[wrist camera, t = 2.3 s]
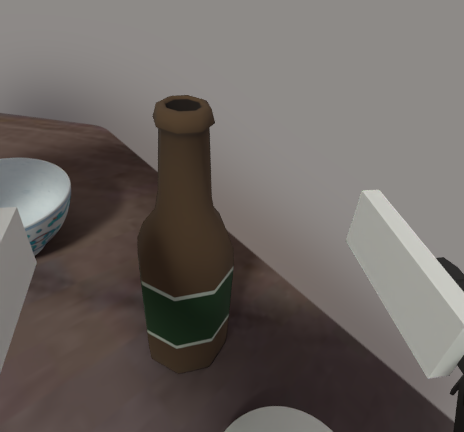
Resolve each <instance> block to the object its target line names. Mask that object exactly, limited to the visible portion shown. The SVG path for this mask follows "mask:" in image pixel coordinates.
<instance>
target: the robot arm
mask: <svg viewBox="0 0 464 432" xmlns="http://www.w3.org/2000/svg"><path fill="white" fill-rule="evenodd" d="M346 242H347V244H348V246H349V247H350V249H351V251H352V252H353V254H354V256H355V257H356V259H357V261H358V262H359V264H360V266H361V267H362V269H363V271H364V272H365V274H366V276H367V277H368V279H369V281H370V283H371V284H372V286H373V288H374V289H375V291H376V293H377V294H378V296H379V298H380V299H381V301H382V303H383V304H384V306H385V308H386V309H387V311H388V313H389V315H390V316H391V318H392V320H393V321H394V323H395V325H396V326H397V328H398V330H399V331H400V333H401V335H402V336H403V338H404V340H405V341H406V343H407V345H408V347H409V348H410V350H411V351H412V353H413V355H414V357H415V358H416V360H417V362H418V363H419V365H420V367H421V368H422V370H423V372H424V373H425V375H426V377H427V378H428V379H430V378H437V377H443V376H449V375H450V374H451V373H452V371H453V370H454V368H455V367H456V366H457V365H458V367H459V368H460V370H461V371H462V373H463V376H462V377H461V378H460V379H459V381H458V382H457V383H456V384H455V386H454V387H453V388H452V390H451V392H450V394H451V395H454V394H455V393H456V391H457V390H459V391H458V400H457V407H456V416H455V424H454V432H464V274H463V273H462V272H461V271H460V269H459V268H458V267H456V266H455V265H453V264H452V263H451V262H449V261H448V260H446V259H445V258H444V257H442V258H435V257H434V256H433V254H431V252H430V251H429V250H428V248H427V247H426V246H425V245H424V243H423V242H422V241H421V240H420V239H419V237H417V235H416V234H415V233H414V231H413V230H412V229H411V228H410V226H409V225H408V224H407V223H406V222H405V220H404V219H403V218H402V217H401V216H400V215H399V213H398V212H397V211H396V210H395V208H394V207H393V206H392V205H391V203H389V201H388V200H387V199H386V197H385V196H384V195H383V194H382V193H381V191H380V190H364V191H362V192H361V195H360V198H359V201H358V204H357V208H356V211H355V214H354V217H353V220H352V223H351V226H350V230H349V233H348V236H347V239H346ZM36 264H37V262H36V259H35V256H34V254H33V251H32V248H31V245H30V242H29V240H28V237H27V234H26V231H25V228H24V226H23V223H22V220H21V217H20V215H19V212H18V209H17V207H6V208H0V373H1V369H2V366H3V363H4V360H5V357H6V354H7V351H8V348H9V345H10V342H11V339H12V336H13V333H14V330H15V327H16V324H17V321H18V318H19V315H20V312H21V309H22V306H23V303H24V300H25V297H26V294H27V291H28V288H29V285H30V282H31V279H32V276H33V273H34V270H35V267H36Z"/></svg>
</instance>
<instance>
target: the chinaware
mask: <svg viewBox="0 0 464 432" xmlns="http://www.w3.org/2000/svg"><path fill="white" fill-rule="evenodd" d="M70 198H71V183H70V179H69V177H68V175H67V173H66V172H65V171H64V170H63V169H61V168H60V167H58V166H57V165H55V164H52V163H50V162H47V161H43V160H38V159H31V158H4V159H0V208H6V207H17V209H18V212H19V215H20V217H21V220H22V223H23V226H24V228H25V231H26V234H27V237H28V240H29V242H30V245H31V248H32V251H33V254H34V256H35V255H37V254H38V253H39V252H40V251H41V250H42V249H43V248H44V246H45V244H47V243H48V242H49V241H50V240H51V239H52V238H53V237H54V236H55V235H56V233H57V232H58V231H59V229H60V228H61V226H62V225H63V223H64V221H65V218H66V216H67V213H68V210H69V205H70Z"/></svg>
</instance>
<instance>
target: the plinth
mask: <svg viewBox="0 0 464 432" xmlns="http://www.w3.org/2000/svg"><path fill="white" fill-rule="evenodd" d="M224 432H333V431H332V430H331V429H330V428H329V427H327V426H326V425H325V424H323V423H322V422H321V421H320V420H318V419H316V418H315V417H313V416H311V415H309V414H307V413H305V412H303V411H300V410H297V409H294V408H289V407H283V406H269V407H263V408H258V409H255V410H252V411H250V412H248V413H246V414H244V415H242V416H241V417H239V418H238V419H236V420H235V421H234V422H233V423H232V424H231V425H230V426H229V427H228V428H227V429H226V430H225V431H224Z"/></svg>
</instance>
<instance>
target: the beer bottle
mask: <svg viewBox="0 0 464 432" xmlns="http://www.w3.org/2000/svg"><path fill="white" fill-rule="evenodd" d="M153 119H154V122H155V125H156V127H157V128H158V192H157V199H156V206H155V209H154V210H153V211H152V212H151V213H150V215H149V216H148V217H147V218H146V219H145V221H144V222H143V224H142V226H141V229H140V232H139V235H138V260H139V269H140V277H141V285H142V294H143V302H144V310H145V319H146V326H147V333H148V341H149V348H150V352H151V357H152V359H154V360H155V361H157V362H159V363H161V364H162V365H164V366H166V367H167V368H169V369H171V370H173V371H174V372H176V373H178V374H180V373H185V372H189V371H193V370H197V369H202V368H206V367H209V366H210V365H211V363H212V361H213V360H214V358H215V357H216V355H217V354H218V352H219V351H220V349H221V348H222V346H223V345H224V343H225V339H226V334H227V327H228V317H229V307H230V297H231V287H232V277H233V267H234V254H233V246H232V244H231V241H230V238H229V235H228V233H227V230H226V228H225V226H224V224H223V221H222V219H221V216H220V214H219V212H218V211H217V210H216V209H215V208H214V206H213V202H212V195H211V194H212V193H211V166H210V165H211V163H210V133H209V127H210V126H212V125H213V124H214V123H215V121H214V117H213V113H212V109H211V107H210V106H209V104H208V102H207V101H206V100H203V99H199V98H196V97H192V96H189V95H181V96H170V97H167V98H165V99H163V100H161V101H159V102H157V103H156V105H155V109H154V113H153Z"/></svg>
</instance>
